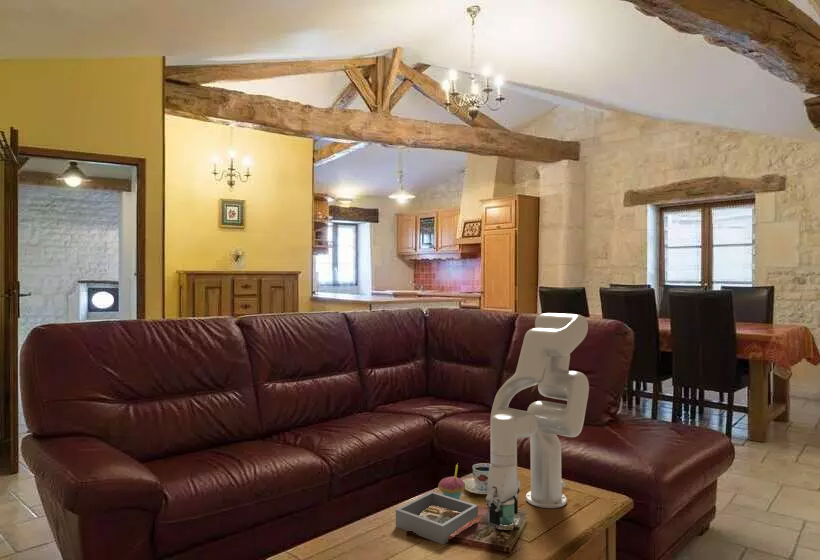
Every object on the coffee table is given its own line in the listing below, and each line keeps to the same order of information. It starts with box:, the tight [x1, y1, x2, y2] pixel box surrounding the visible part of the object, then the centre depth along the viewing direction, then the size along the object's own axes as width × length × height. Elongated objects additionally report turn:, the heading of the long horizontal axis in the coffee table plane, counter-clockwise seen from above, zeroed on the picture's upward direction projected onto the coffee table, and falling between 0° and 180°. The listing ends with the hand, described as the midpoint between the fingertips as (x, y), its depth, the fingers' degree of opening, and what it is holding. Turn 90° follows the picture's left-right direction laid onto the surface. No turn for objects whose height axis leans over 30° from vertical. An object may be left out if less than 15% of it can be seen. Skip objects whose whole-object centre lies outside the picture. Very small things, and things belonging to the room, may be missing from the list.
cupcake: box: [437, 462, 466, 500], centre depth 181 cm, size 9×8×12 cm
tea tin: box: [494, 497, 515, 525], centre depth 162 cm, size 6×6×8 cm
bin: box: [395, 491, 479, 546], centre depth 164 cm, size 17×17×5 cm
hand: (503, 518), depth 161 cm, fingers open, 9 cm apart
